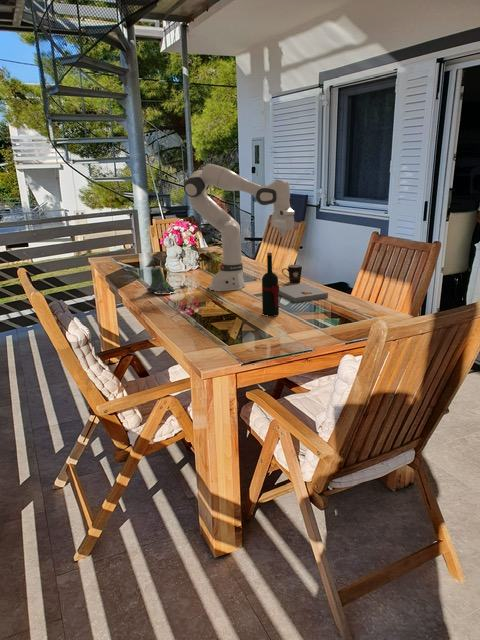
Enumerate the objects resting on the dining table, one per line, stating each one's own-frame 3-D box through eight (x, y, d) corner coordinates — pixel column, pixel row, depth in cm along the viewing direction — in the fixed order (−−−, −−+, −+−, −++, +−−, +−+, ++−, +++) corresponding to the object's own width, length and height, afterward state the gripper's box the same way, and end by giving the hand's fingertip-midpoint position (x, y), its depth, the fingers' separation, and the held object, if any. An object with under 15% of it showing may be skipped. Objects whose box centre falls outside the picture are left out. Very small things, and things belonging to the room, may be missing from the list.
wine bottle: (271, 318, 226) (269, 255, 217) (259, 313, 234) (257, 252, 225) (284, 315, 230) (284, 253, 220) (272, 310, 238) (271, 250, 229)
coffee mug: (303, 280, 296) (303, 264, 293) (299, 284, 289) (299, 267, 286) (286, 279, 301) (285, 264, 298) (281, 282, 294) (281, 266, 291)
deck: (295, 302, 251) (295, 297, 250) (273, 292, 273) (273, 287, 272) (327, 297, 258) (328, 292, 257) (304, 287, 280) (304, 283, 279)
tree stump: (187, 292, 282) (179, 264, 273) (157, 306, 274) (147, 278, 266) (174, 285, 296) (166, 258, 288) (145, 298, 288) (135, 271, 280)
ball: (303, 298, 260) (306, 297, 256) (302, 292, 260) (305, 291, 257) (308, 297, 261) (312, 296, 258) (307, 291, 261) (310, 290, 258)
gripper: (268, 210, 268) (268, 235, 272) (285, 212, 250) (285, 239, 254) (278, 209, 270) (278, 234, 274) (296, 211, 252) (296, 238, 256)
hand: (282, 236), depth 264 cm, fingers closed
